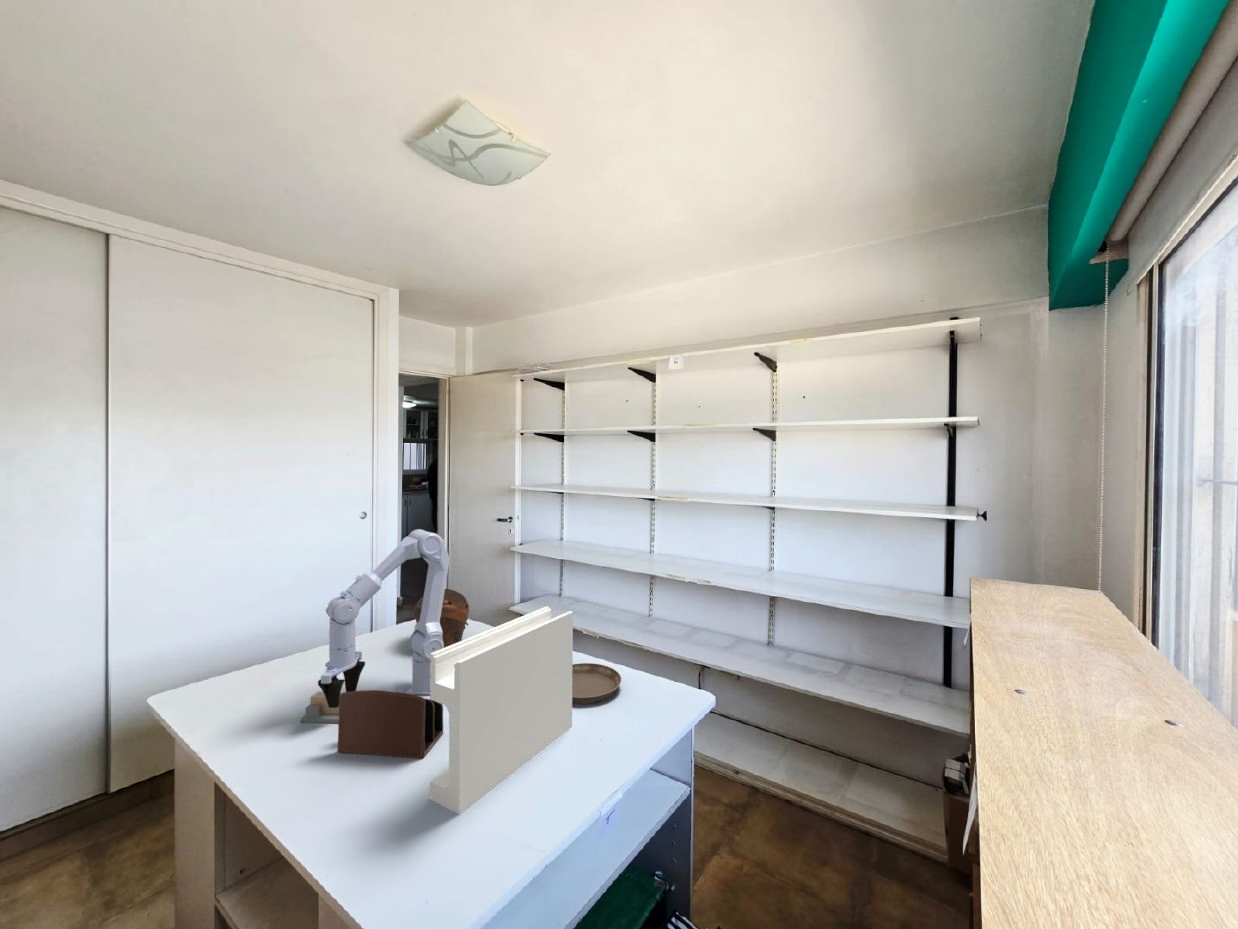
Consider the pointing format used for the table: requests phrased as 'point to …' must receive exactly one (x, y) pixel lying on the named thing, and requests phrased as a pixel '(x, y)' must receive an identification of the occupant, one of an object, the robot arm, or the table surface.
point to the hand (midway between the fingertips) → (342, 699)
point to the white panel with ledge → (501, 701)
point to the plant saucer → (593, 682)
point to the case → (449, 616)
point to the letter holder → (388, 723)
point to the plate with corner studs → (318, 716)
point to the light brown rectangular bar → (323, 703)
